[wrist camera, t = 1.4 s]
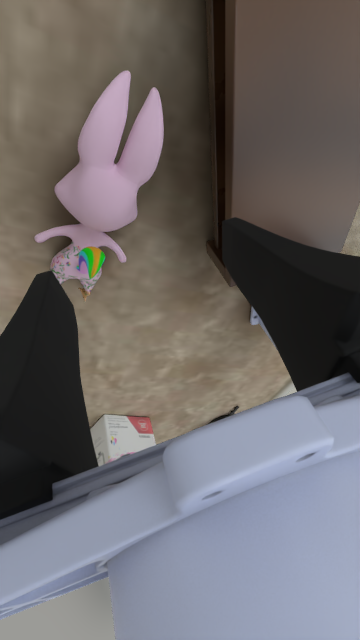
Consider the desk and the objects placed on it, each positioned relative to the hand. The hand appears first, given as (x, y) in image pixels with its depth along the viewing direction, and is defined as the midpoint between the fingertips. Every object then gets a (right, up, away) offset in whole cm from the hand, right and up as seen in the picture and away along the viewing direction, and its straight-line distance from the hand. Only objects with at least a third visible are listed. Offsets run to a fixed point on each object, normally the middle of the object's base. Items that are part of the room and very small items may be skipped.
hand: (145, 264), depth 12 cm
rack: (+7, +11, +7) cm, 15 cm away
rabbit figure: (-5, +6, +7) cm, 11 cm away
